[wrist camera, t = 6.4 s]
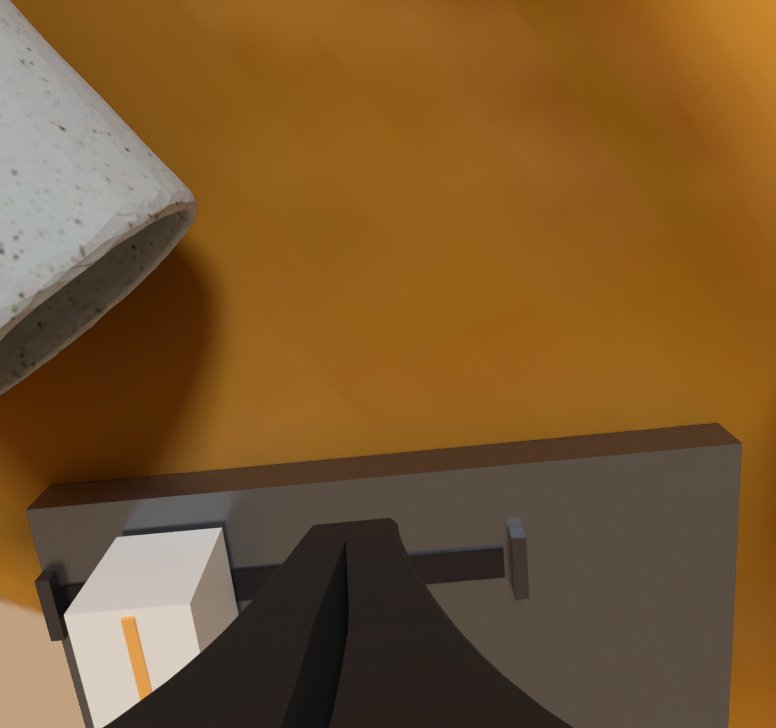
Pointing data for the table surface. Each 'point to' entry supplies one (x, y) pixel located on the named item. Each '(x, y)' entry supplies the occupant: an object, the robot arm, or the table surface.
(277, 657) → the robot arm
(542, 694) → the console
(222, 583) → the fader
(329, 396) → the table surface
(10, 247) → the ceramic mug
